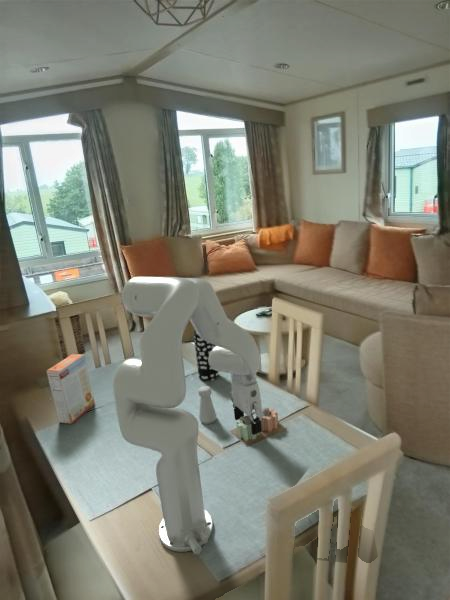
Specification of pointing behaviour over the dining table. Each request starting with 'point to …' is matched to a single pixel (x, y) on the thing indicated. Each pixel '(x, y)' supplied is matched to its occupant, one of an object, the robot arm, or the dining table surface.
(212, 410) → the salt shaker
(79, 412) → the cracker box
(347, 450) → the dining table surface
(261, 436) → the gear board
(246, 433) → the green gear
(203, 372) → the white-spotted black cylinder
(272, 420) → the terracotta gear
